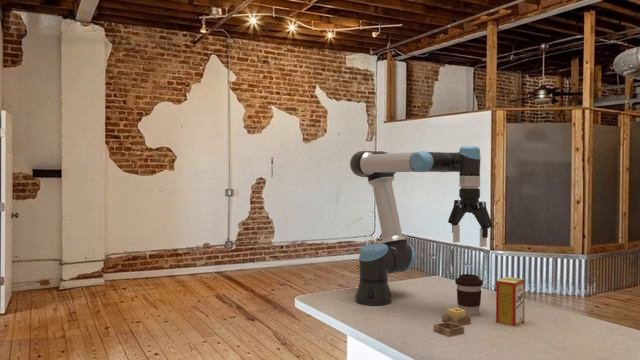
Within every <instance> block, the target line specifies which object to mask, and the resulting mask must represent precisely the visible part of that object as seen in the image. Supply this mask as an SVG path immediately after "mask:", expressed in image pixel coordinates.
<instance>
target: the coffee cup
mask: <svg viewBox="0 0 640 360" xmlns="http://www.w3.org/2000/svg"><path fill="white" fill-rule="evenodd" d="M454 280H455V284H456V285H457V286H456V287H457V288H456V296H457V297H456V298H457V299H456V300H457V305H458V306H457V308H459V309H463V310H466V315H468V316H471V317H472V316H473V317H476V316H479V315H480V306H481V302H482V301H481V300H482V299H481V298H482V286H483V285H484V282H483V281H484V280H483V279H480V278H479V275H476V274H470V273H463V274H460V275H458V277H456V278H455V279H454Z"/></svg>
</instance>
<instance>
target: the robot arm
mask: <svg viewBox="0 0 640 360" xmlns="http://www.w3.org/2000/svg"><path fill="white" fill-rule="evenodd" d="M481 160H482V157H481V149H480V147H479V146H472V145H471V146H461V147H459V151H458V152H440V151H438V152H437V151H435V152H434V151H422V150H421V151H420V150H419V151H413V152H397V153H395V152H394V153H392V152H391V153H390V152H387V151H382V150H379V151H375V150H374V151H373V150H360V151H358V152H357V151H356V152H355V153H354V154H353V155H352V156H351V158H350V161H349V166H350V170H351V172H352V173H353V174H354V175H355V176H358V177H360V178H367V182H368V185H370V186H372V190H373V195H374V200H375V206H376V210H377V215H378V220H379V221H378V222H379V226H380V232H381V236H382V240H381V242H379V243H377V242H375V243H369V244H365V245H362V246H361V247H360V249H359V283H358V285H357V290H356V291H355V292H356V293H355V297H354V298H355V299H354V300H355V302H356V303H358V304H361V305H365V306H366V305H367V306H384V305H388V304H389V305H390V304H392V302H393V300H392V299H393V297H392V293H391V289H390V285H389V283H388V282H389V281H388V277H389V276H388V275H390V274H391V275H392V274H396V273H403V272H406V271H409V270H410V269H412V267H413V265H415V262H416V251H415V249H414V247H413V246H412V245H411V244H409V243H408V240H407V238H406V237H405V236H403V232H402V227H401V223H400V218H399V213H398V207H397V203H396V197H395V193H394V187H393V182H394V180H395V174H396V173H433V172H434V173H454V172H456V173H458V174H459V179H458V180H459V187H460V188H459V191H458V194H459V195H458V196H459V199H454V201H453V206H452V210H451V212H450V215H449V217H448V220H447V223H448V224H451V231H452V232H451V233H452V243H453V244H454V243H460V242H461V241H460V239H461V237H460V235H461V232H460V231H461V229H460V227H461V226H460V222H461V221H462V219H463V218H464V217H465V214H466V213H469V214H472V215H473V216H474V217H475V220H476V221H477V223H478V224H479V226H480V228H479V247H480V248H485V247H487V245H488V244H487V241H488V240H487V239H488V238H489V233H488V232H489V229H490V228H493V227H494V225H493V223H492V220H491V217H490V215H489V211H488V209H487V202H486V201H479V199H480V198H481V188H480V187H481Z"/></svg>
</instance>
